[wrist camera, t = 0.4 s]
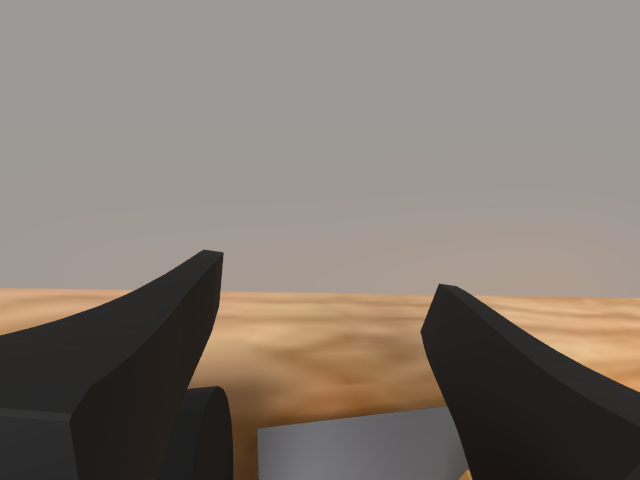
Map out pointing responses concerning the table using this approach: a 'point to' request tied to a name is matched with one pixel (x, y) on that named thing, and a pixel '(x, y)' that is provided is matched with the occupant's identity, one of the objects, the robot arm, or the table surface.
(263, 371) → the table surface
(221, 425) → the black and grey cylinder
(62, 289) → the table surface
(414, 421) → the board
